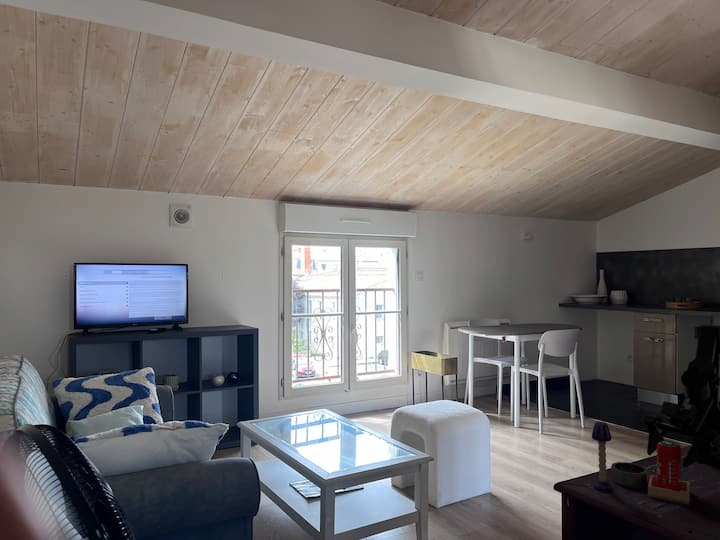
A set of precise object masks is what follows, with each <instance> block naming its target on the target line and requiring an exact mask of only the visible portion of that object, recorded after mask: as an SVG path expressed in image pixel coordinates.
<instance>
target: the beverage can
mask: <svg viewBox="0 0 720 540" xmlns="http://www.w3.org/2000/svg"><path fill="white" fill-rule="evenodd" d="M656 476H657V487H658V488H664V489H669V490H674V491H680V490H681V480H682V447H681V444H680V443H679V442H677V441H673V440H666V439H664V440H660V441H658V444H657V449H656Z"/></svg>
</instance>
